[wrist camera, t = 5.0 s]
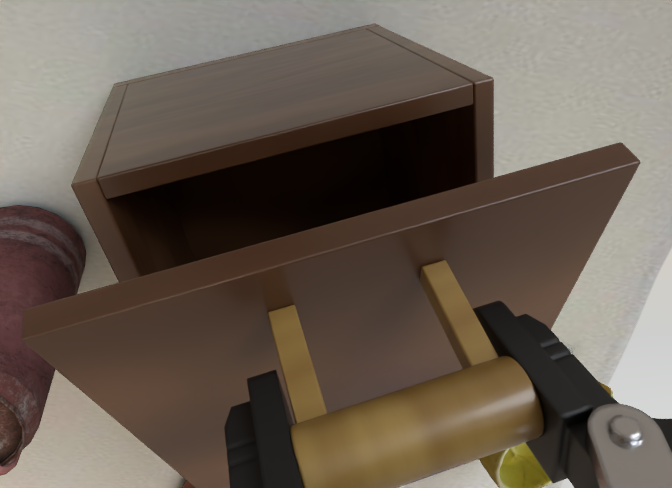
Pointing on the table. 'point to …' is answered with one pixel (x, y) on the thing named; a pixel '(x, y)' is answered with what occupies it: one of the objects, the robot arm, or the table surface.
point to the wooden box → (279, 145)
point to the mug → (518, 466)
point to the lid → (346, 329)
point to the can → (19, 294)
